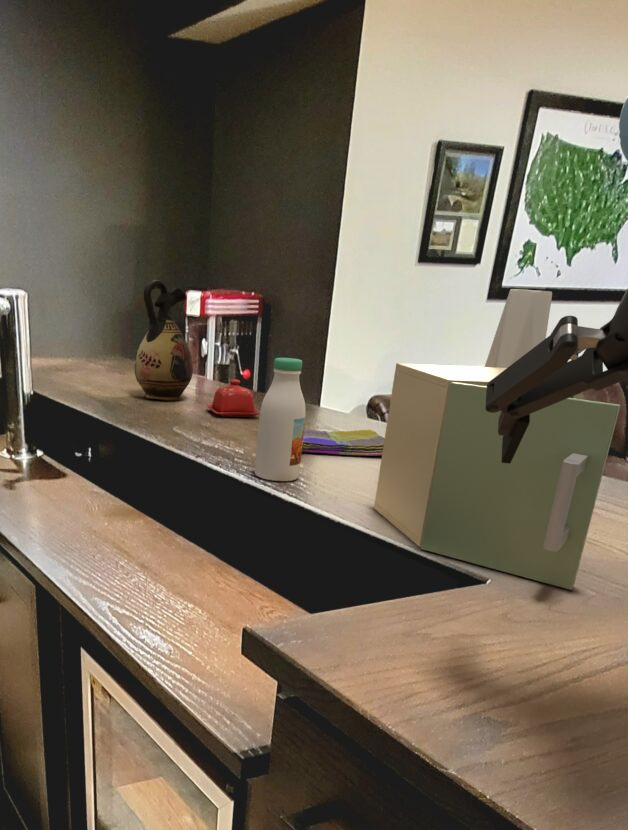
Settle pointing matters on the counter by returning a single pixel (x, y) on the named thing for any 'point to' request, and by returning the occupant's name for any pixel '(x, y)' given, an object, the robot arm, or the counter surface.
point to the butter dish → (233, 401)
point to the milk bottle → (281, 424)
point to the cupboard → (418, 439)
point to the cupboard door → (518, 486)
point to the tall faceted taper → (520, 326)
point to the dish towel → (343, 442)
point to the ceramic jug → (163, 348)
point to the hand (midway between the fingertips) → (588, 459)
